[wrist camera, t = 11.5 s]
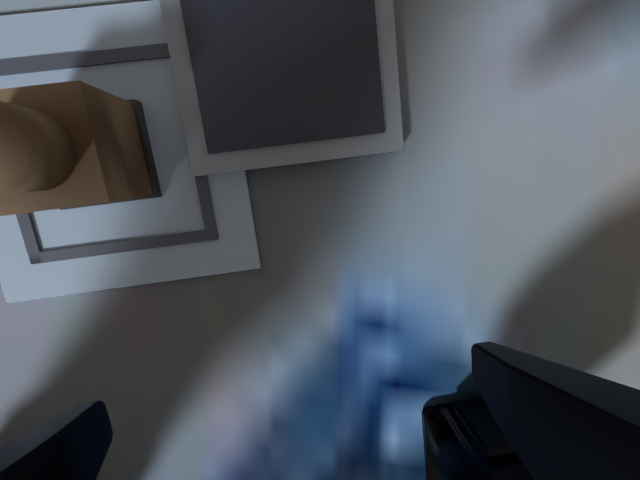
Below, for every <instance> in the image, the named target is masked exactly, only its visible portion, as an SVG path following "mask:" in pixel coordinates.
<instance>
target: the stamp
mask: <svg viewBox="0 0 640 480" xmlns="http://www.w3.org/2000/svg"><path fill="white" fill-rule="evenodd" d="M157 197H162V194H161V189H160V185H159V180H158V176H157V171H156V166H155V162H154V157H153V153H152V148H151V143H150V139H149V134H148V129H147V125H146V120H145V116H144V111H143V106H142V102H140V101H138V100H135V99H131V100H124V99H122V98H120V97H117V96H115V95H113V94H110V93H108V92H106V91H103V90H101V89H98V88H96V87H94V86H91V85H89V84H87V83H84V82H82V81H80V80H77V81H68V82H59V83H50V84H41V85H33V86H24V87H15V88H6V89H0V216H6V215H14V214H22V213H30V212H37V211H45V210H53V209H60V210H65V209H72V208H80V207H88V206H96V205H103V204H111V203H119V202H127V201H134V200H142V199H150V198H157Z"/></svg>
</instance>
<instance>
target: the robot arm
mask: <svg viewBox="0 0 640 480" xmlns="http://www.w3.org/2000/svg"><path fill="white" fill-rule="evenodd" d="M471 354H472V376H473V380H474V382H475V385H476V386H477V388H478V390H479V392H480V394H481V395H482V397H483V398H477V399H471V400H465V401H458V402H452V403H446V404H439V405H433V406H428V407H426V408H424V409H423V411H422V423H423V437H424V451H425V465H426V479H427V480H640V390H638V389H635V388H632V387H629V386H626V385H623V384H619V383H616V382H613V381H610V380H607V379H604V378H601V377H598V376H595V375H592V374H588V373H585V372H582V371H579V370H576V369H573V368H570V367H567V366H564V365H561V364H557V363H554V362H551V361H548V360H545V359H542V358H539V357H536V356H533V355H530V354H526V353H523V352H520V351H517V350H514V349H511V348H508V347H505V346H502V345H499V344H495V343H492V342H482V343H476V344H474V345H473V346H472V349H471ZM429 414H432V416H429ZM112 436H113V431H112V426H111V423H110V419H109V416H108V412H107V409H106V405H105V404H104V402H102V401H91V402H85V403H82V404H80V405H78V406H76V407H75V408H73V409H71V410H69V411H68V412H66V413H64V414H62V415H61V416H59V417H57V418H55V419H53V420H52V421H50V422H48V423H46V424H45V425H43V426H41V427H39V428H38V429H36V430H34V431H32V432H30V433H29V434H27V435H25V436H23V437H22V438H20V439H18V440H16V441H15V442H13V443H11V444H9V445H7V446H6V447H4V448H2V449H0V480H96V478H97V476H98V473H99V471H100V469H101V466H102V464H103V461H104V459H105V456H106V454H107V451H108V449H109V446H110V444H111V441H112Z"/></svg>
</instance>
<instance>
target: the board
mask: <svg viewBox="0 0 640 480" xmlns="http://www.w3.org/2000/svg"><path fill="white" fill-rule="evenodd" d="M77 80H80V81H82V82H84V83H87V84H89V85H91V86H94V87H96V88H98V89H101V90H103V91H106V92H108V93H110V94H113V95H115V96H117V97H120V98H122V99H124V100H131V99H135V100H138V101H140V102H142V106H143V111H144V116H145V120H146V125H147V129H148V134H149V139H150V143H151V148H152V153H153V157H154V162H155V166H156V171H157V176H158V180H159V185H160V189H161V194H162V197H157V198H150V199H142V200H134V201H127V202H119V203H111V204H103V205H96V206H88V207H80V208H72V209H65V210H60V209H53V210H45V211H37V212H30V213H22V214H14V215H6V216H0V284H1V287H2V290H3V293H4V296H5V299H6V302H7V303H13V302H20V301H27V300H34V299H42V298H49V297H56V296H63V295H71V294H78V293H85V292H92V291H100V290H107V289H114V288H122V287H129V286H136V285H143V284H151V283H158V282H165V281H172V280H180V279H187V278H194V277H202V276H209V275H216V274H223V273H231V272H238V271H245V270H252V269H260V268H261V262H260V256H259V250H258V244H257V238H256V232H255V225H254V219H253V213H252V207H251V201H250V195H249V189H248V183H247V176H246V171H237V172H229V173H221V174H213V175H204V176H194V177H193V172H192V167H191V162H190V157H189V152H188V147H187V141H186V136H185V131H184V126H183V121H182V116H181V110H180V105H179V100H178V95H177V90H176V85H175V80H174V74H173V69H172V64H171V59H170V54H169V49H168V44H167V38H166V33H165V28H164V23H163V18H162V13H161V7H160V2H159V0H151V1H141V2H131V3H121V4H111V5H101V6H91V7H81V8H71V9H61V10H52V11H42V12H32V13H22V14H12V15H2V16H0V89H6V88H15V87H24V86H33V85H41V84H50V83H59V82H68V81H77Z"/></svg>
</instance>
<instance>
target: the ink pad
mask: <svg viewBox="0 0 640 480" xmlns="http://www.w3.org/2000/svg"><path fill="white" fill-rule="evenodd" d="M159 2H160V7H161V13H162V18H163V23H164V28H165V33H166V38H167V44H168V49H169V54H170V59H171V64H172V69H173V74H174V80H175V85H176V90H177V95H178V100H179V105H180V110H181V116H182V121H183V126H184V131H185V136H186V141H187V147H188V152H189V157H190V162H191V167H192V172H193V177H194V176H204V175H213V174H221V173H229V172H237V171H246V170H254V169H262V168H270V167H278V166H286V165H294V164H302V163H310V162H318V161H326V160H334V159H342V158H350V157H358V156H366V155H374V154H382V153H391V152H398V151H403V150H404V142H403V128H402V114H401V100H400V86H399V72H398V58H397V44H396V29H395V15H394V1H393V0H159Z"/></svg>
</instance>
